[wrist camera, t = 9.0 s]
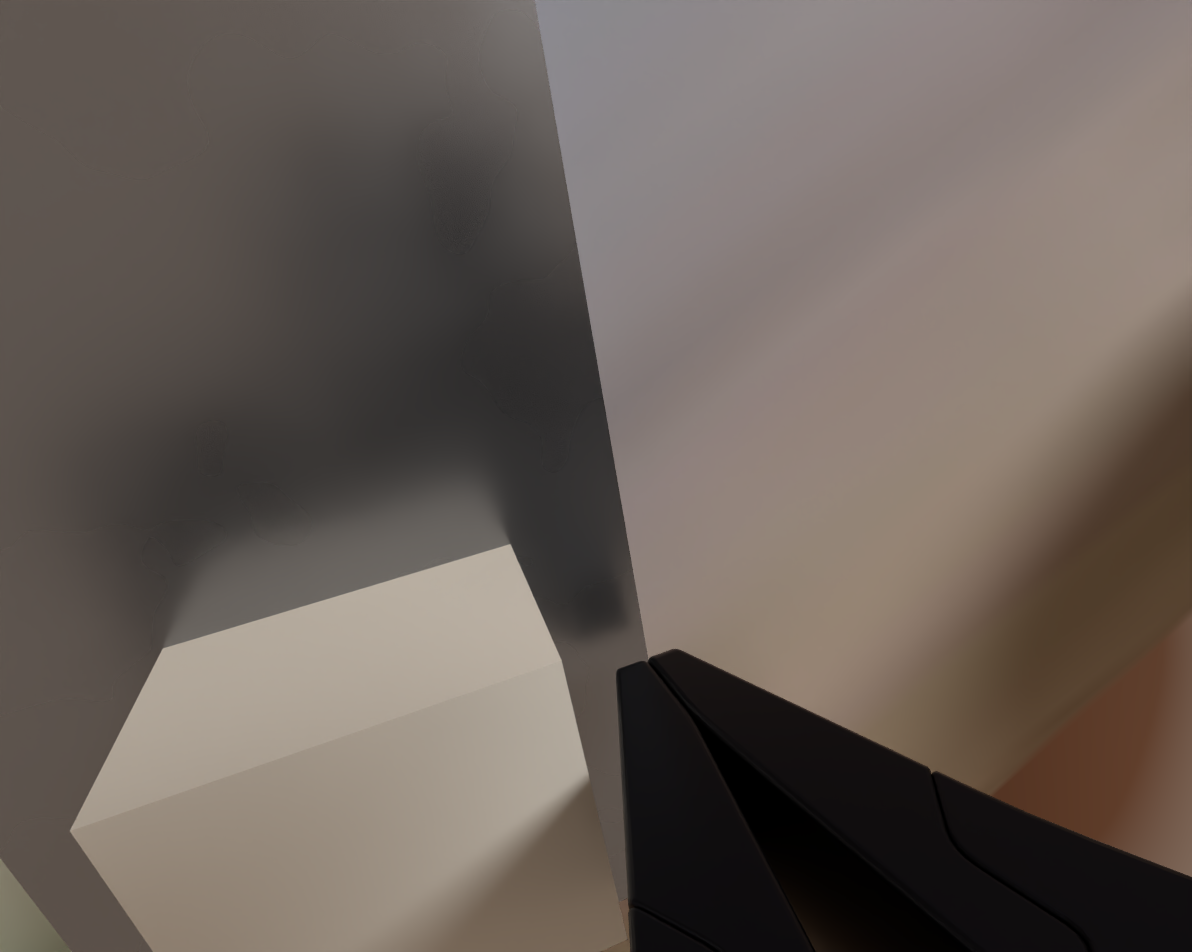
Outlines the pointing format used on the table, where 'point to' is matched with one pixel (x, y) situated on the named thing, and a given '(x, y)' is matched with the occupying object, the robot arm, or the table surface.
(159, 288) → the plate
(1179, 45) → the table surface
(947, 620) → the table surface
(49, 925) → the box
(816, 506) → the table surface
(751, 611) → the table surface
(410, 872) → the tile
